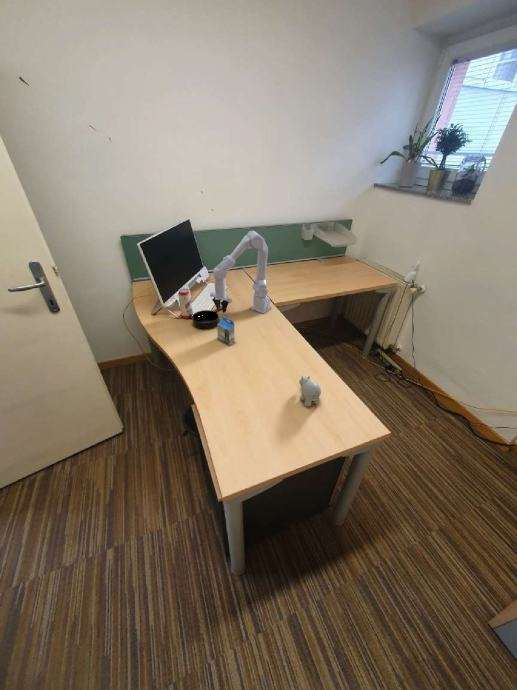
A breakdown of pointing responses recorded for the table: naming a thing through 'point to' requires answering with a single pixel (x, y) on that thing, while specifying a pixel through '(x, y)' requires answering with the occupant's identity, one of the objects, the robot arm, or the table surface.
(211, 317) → the pan
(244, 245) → the robot arm
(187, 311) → the beer can
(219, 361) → the table surface
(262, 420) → the table surface
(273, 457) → the table surface
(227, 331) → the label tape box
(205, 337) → the table surface
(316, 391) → the chubby cartoon animal
